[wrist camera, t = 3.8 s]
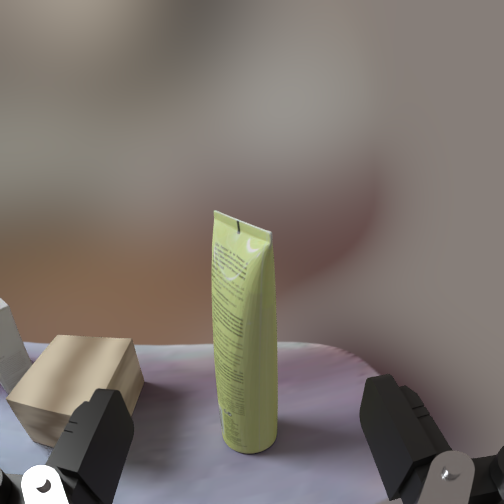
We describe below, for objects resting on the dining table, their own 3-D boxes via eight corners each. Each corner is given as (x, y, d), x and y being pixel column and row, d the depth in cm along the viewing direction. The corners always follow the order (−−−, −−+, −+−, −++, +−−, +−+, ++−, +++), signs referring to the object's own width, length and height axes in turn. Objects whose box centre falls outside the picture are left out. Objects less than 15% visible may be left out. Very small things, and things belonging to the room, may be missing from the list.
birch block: (33, 441, 20) (5, 398, 19) (73, 374, 32) (57, 334, 30) (115, 461, 20) (91, 419, 19) (144, 381, 32) (132, 338, 30)
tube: (290, 422, 26) (293, 211, 20) (274, 463, 21) (271, 229, 15) (234, 410, 28) (214, 209, 22) (212, 447, 23) (174, 226, 17)
